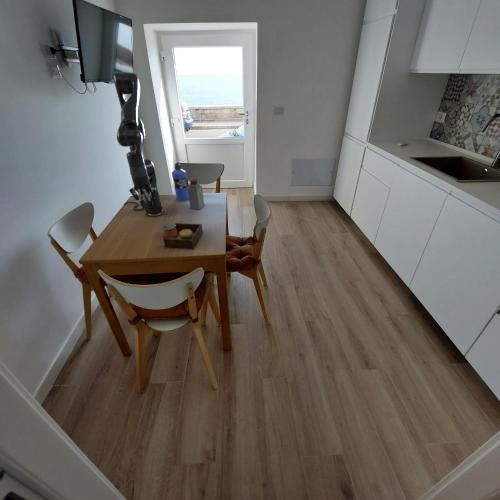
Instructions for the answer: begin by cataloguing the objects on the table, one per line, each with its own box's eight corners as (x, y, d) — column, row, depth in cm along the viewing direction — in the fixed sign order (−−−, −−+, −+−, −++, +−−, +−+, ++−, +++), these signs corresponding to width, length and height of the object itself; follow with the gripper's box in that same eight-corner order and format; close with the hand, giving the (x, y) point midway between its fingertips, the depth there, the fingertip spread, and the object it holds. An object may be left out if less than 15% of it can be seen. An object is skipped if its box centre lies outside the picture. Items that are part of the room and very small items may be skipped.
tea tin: (180, 246, 140) (177, 234, 136) (184, 240, 145) (181, 228, 141) (191, 247, 139) (189, 235, 135) (195, 240, 144) (193, 229, 140)
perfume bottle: (204, 205, 181) (200, 178, 171) (199, 209, 176) (195, 182, 166) (195, 204, 183) (191, 177, 173) (190, 208, 178) (186, 181, 168)
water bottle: (174, 197, 192) (168, 162, 178) (187, 195, 196) (181, 160, 182) (178, 202, 186) (172, 165, 172) (191, 199, 189) (186, 163, 175)
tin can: (162, 238, 147) (160, 229, 144) (167, 231, 153) (165, 223, 149) (174, 239, 146) (172, 230, 143) (179, 232, 152) (177, 223, 148)
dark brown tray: (165, 247, 139) (163, 239, 137) (177, 230, 153) (175, 222, 151) (193, 248, 138) (191, 240, 135) (202, 232, 151) (201, 224, 149)
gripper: (156, 171, 133) (163, 203, 143) (128, 171, 134) (137, 204, 143) (151, 176, 127) (159, 210, 137) (121, 177, 128) (131, 210, 137)
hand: (147, 206), depth 140 cm, fingers open, 3 cm apart
